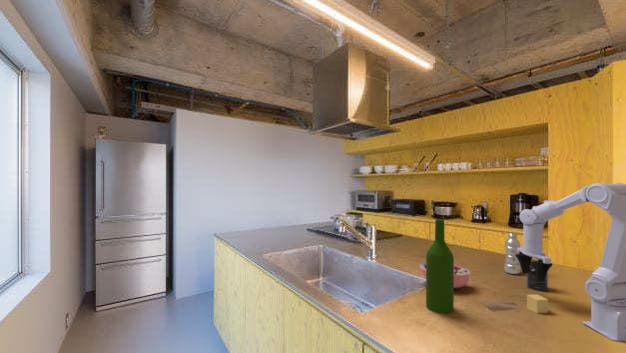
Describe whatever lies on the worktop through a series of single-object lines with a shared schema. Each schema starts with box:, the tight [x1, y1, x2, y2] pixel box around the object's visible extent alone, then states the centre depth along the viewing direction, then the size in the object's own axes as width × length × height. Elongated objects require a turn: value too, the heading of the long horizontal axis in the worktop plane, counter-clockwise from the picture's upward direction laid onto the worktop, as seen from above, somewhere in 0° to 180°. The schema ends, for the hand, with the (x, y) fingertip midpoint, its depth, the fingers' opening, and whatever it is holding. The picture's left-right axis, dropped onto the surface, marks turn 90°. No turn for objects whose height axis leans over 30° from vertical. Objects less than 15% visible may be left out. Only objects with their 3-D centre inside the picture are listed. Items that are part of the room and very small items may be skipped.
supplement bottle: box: [526, 260, 549, 292], centre depth 114 cm, size 7×7×12 cm
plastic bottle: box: [503, 231, 522, 275], centre depth 134 cm, size 6×7×20 cm
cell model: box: [419, 262, 471, 289], centre depth 117 cm, size 17×20×11 cm
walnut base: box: [480, 301, 522, 313], centre depth 95 cm, size 12×12×1 cm
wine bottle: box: [425, 218, 455, 315], centre depth 97 cm, size 9×9×32 cm
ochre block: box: [526, 294, 549, 314], centre depth 94 cm, size 4×4×6 cm
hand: (532, 276), depth 103 cm, fingers open, 7 cm apart
